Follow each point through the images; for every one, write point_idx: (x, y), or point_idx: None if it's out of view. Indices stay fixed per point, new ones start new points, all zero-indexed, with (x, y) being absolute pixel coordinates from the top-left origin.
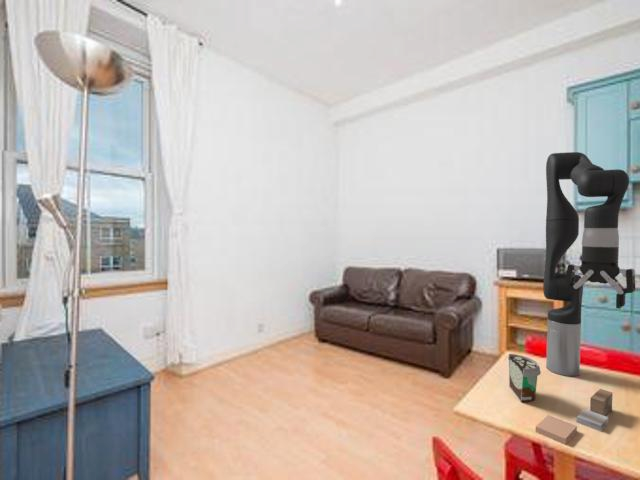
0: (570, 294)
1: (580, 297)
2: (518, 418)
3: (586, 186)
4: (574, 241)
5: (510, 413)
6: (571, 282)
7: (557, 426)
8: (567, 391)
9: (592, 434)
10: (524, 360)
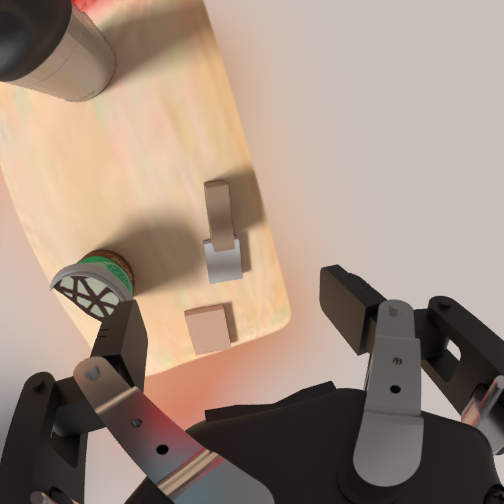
0: None
1: (139, 340)
2: (162, 341)
3: None
4: None
5: (148, 340)
6: (81, 434)
7: (210, 332)
8: (138, 171)
9: (237, 292)
10: (79, 279)
